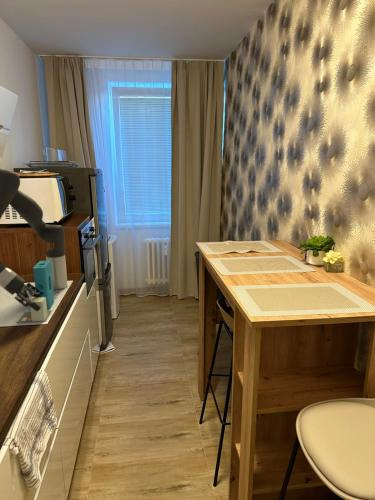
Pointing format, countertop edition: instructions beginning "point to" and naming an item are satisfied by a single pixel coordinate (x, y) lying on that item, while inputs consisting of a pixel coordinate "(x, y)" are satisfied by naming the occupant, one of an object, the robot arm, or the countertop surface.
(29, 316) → the marker mat
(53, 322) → the countertop surface
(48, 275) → the block
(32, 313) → the sage block
